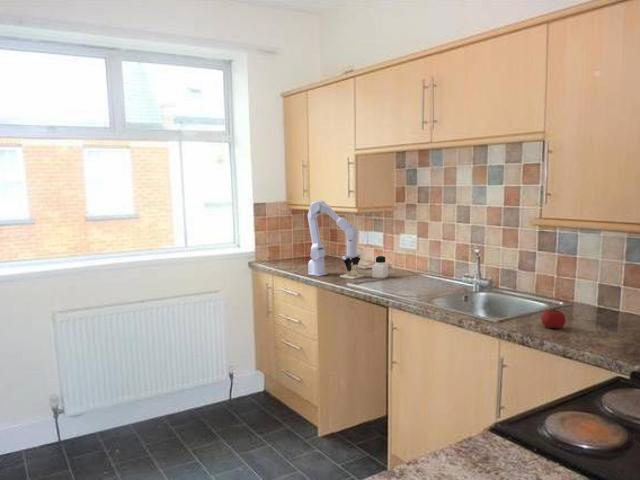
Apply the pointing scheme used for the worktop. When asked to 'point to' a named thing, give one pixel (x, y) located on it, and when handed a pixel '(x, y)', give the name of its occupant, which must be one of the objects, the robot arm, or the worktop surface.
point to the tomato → (553, 319)
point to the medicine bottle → (380, 267)
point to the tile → (352, 276)
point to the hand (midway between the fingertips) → (351, 270)
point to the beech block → (352, 270)
